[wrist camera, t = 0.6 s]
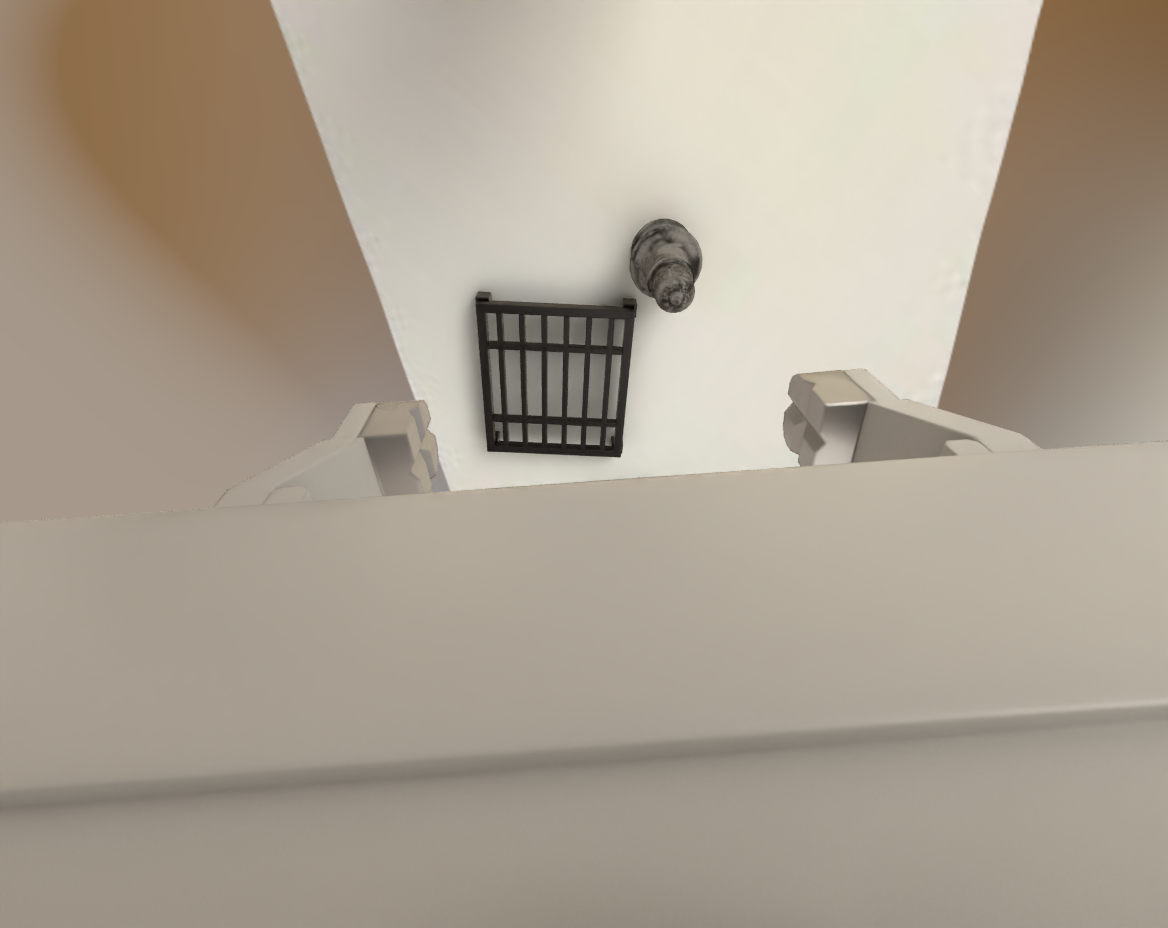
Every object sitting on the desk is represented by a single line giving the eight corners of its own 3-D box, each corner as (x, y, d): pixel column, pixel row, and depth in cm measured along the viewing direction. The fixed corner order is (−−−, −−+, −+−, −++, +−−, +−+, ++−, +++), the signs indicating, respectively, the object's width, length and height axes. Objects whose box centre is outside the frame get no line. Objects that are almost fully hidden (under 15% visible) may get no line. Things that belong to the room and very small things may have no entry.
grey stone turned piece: (617, 232, 47) (622, 280, 38) (684, 202, 46) (707, 245, 36) (641, 295, 50) (651, 354, 41) (704, 269, 49) (730, 324, 39)
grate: (478, 291, 51) (473, 301, 49) (636, 298, 51) (637, 309, 49) (489, 439, 60) (485, 453, 59) (621, 445, 61) (622, 459, 59)
